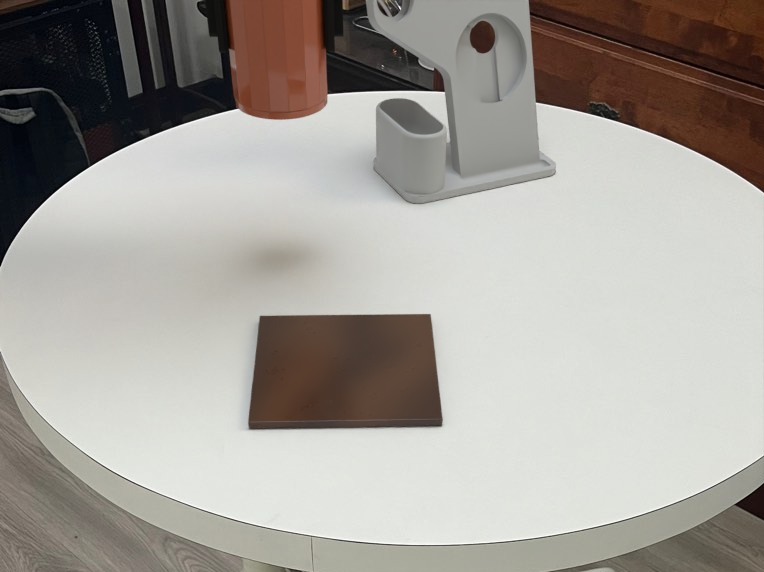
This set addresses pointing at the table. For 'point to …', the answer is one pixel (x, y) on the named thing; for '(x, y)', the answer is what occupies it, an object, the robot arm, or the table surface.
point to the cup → (277, 57)
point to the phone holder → (461, 102)
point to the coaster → (345, 372)
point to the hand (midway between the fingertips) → (277, 44)
